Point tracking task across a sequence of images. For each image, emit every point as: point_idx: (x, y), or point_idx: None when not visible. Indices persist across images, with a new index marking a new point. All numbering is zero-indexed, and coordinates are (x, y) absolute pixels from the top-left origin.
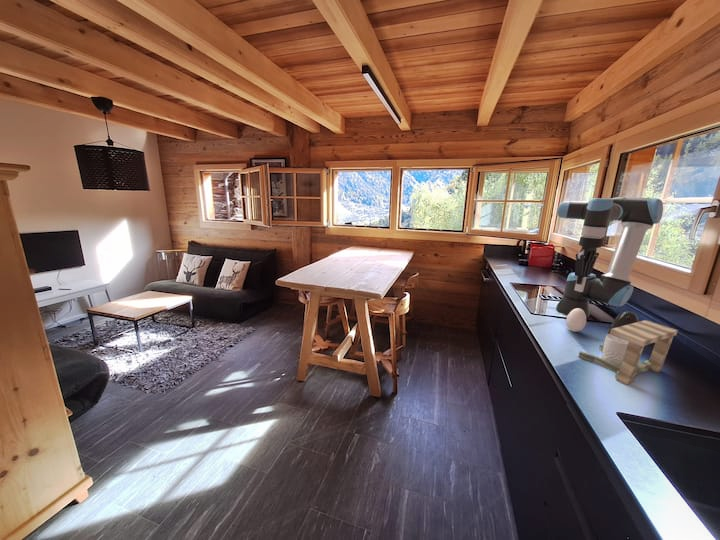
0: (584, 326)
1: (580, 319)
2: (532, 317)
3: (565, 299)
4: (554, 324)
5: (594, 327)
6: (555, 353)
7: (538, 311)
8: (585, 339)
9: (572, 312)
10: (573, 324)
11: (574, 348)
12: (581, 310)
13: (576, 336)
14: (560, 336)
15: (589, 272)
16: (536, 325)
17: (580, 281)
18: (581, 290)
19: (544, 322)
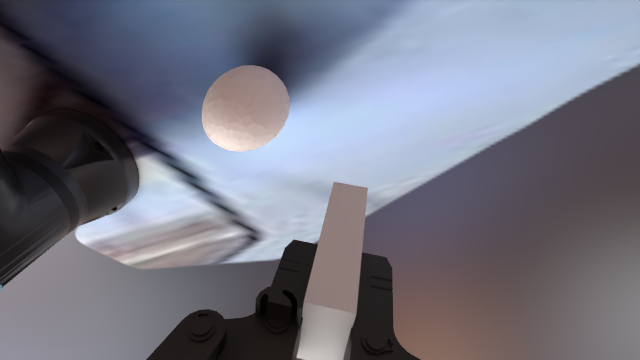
0: (246, 65)
1: (265, 91)
2: (289, 224)
3: (84, 214)
4: (273, 158)
5: (133, 55)
6: (607, 41)
7: (210, 231)
8: (305, 25)
9: (257, 140)
10: (287, 101)
11: (463, 13)
12: (227, 117)
13: (310, 61)
14: (378, 100)
15: (212, 356)
16: None
17: (390, 287)
18: (365, 197)
19: (292, 185)
